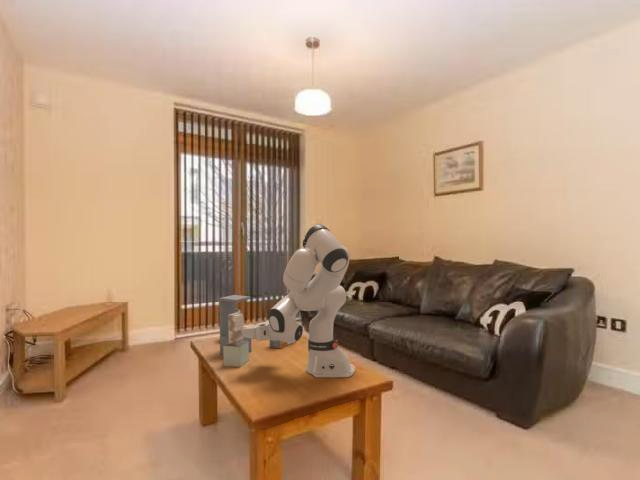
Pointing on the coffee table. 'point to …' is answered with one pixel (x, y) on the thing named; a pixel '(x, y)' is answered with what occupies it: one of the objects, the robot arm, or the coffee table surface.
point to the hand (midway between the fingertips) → (248, 327)
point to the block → (235, 328)
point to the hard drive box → (279, 343)
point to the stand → (236, 354)
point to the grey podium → (226, 308)
